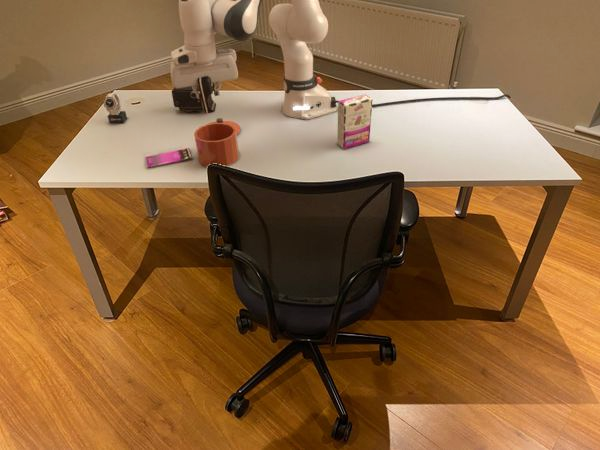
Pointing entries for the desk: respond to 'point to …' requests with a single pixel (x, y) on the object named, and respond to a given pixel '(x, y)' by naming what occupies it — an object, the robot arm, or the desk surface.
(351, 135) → the candy bar box
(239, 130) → the lid
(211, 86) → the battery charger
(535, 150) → the desk surface
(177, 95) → the camera
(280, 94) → the desk surface
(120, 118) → the watch
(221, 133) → the pot
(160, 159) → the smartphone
